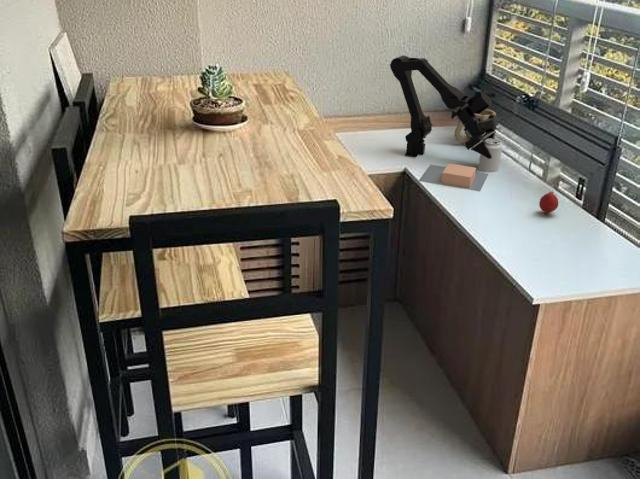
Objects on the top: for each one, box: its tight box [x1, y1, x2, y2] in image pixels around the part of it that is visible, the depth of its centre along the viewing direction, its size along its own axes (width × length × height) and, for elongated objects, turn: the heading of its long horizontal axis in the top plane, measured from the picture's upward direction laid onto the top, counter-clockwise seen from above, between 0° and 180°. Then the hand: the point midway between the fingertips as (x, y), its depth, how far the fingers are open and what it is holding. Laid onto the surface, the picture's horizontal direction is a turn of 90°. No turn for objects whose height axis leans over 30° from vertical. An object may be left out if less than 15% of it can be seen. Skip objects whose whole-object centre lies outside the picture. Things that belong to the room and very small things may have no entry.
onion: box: [538, 190, 559, 215], centre depth 209 cm, size 6×6×8 cm
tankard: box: [453, 108, 497, 149], centre depth 266 cm, size 20×13×15 cm, turn 104°
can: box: [478, 138, 503, 173], centre depth 240 cm, size 8×8×12 cm
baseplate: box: [418, 164, 489, 192], centre depth 234 cm, size 22×18×1 cm
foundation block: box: [441, 163, 477, 188], centre depth 231 cm, size 10×10×4 cm
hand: (494, 155), depth 240 cm, fingers closed on can, 7 cm apart
